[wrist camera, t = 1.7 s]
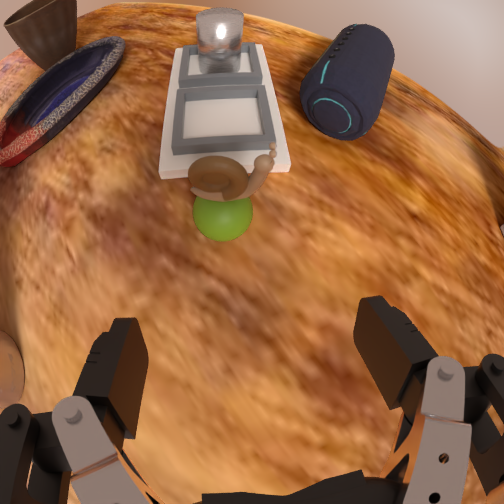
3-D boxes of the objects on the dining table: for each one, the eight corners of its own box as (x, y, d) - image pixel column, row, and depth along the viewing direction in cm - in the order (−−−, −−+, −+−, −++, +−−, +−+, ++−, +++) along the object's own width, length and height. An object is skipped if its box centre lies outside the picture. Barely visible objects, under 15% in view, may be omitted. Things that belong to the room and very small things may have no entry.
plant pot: (105, 38, 42) (90, -22, 27) (61, 82, 37) (33, 15, 22) (59, 44, 42) (42, -7, 27) (18, 85, 37) (-10, 32, 22)
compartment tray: (161, 179, 30) (155, 163, 28) (176, 55, 39) (174, 41, 36) (288, 172, 32) (293, 155, 29) (261, 51, 40) (262, 37, 38)
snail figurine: (260, 251, 28) (279, 182, 17) (193, 248, 28) (171, 178, 17) (261, 202, 30) (276, 119, 19) (198, 199, 30) (184, 115, 19)
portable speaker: (335, 52, 43) (348, 9, 33) (385, 75, 42) (404, 34, 32) (283, 129, 34) (296, 65, 25) (356, 163, 33) (388, 106, 24)
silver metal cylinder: (198, 78, 35) (194, 25, 26) (199, 57, 37) (197, 9, 28) (242, 76, 35) (245, 23, 27) (239, 55, 37) (241, 7, 29)
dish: (153, 58, 39) (149, 35, 34) (19, 197, 29) (-1, 178, 24) (97, 49, 41) (91, 30, 36) (-17, 165, 31) (-32, 149, 26)
